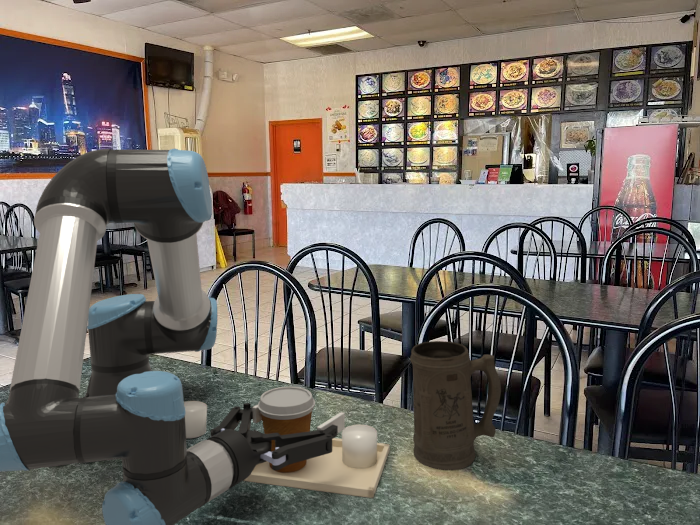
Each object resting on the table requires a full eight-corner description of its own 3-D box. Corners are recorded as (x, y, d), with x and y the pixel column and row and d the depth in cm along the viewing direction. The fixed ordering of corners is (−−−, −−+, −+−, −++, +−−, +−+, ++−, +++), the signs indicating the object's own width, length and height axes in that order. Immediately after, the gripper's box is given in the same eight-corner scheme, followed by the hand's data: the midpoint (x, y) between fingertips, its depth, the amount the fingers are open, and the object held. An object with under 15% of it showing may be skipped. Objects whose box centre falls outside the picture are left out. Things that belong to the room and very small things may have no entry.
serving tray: (273, 440, 102) (273, 431, 102) (389, 453, 97) (389, 444, 97) (239, 483, 88) (238, 472, 88) (373, 501, 83) (373, 490, 83)
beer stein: (419, 476, 90) (420, 359, 87) (402, 445, 100) (403, 340, 97) (507, 468, 92) (512, 354, 89) (482, 439, 103) (485, 336, 100)
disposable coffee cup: (307, 481, 88) (306, 410, 86) (251, 475, 89) (248, 405, 87) (321, 452, 97) (320, 387, 95) (270, 447, 99) (268, 383, 97)
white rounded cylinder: (346, 449, 98) (346, 422, 97) (380, 453, 96) (380, 426, 96) (338, 466, 92) (338, 438, 91) (373, 470, 91) (373, 442, 90)
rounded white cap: (169, 428, 107) (170, 404, 106) (199, 422, 110) (200, 399, 110) (180, 440, 102) (180, 414, 101) (210, 434, 105) (211, 409, 105)
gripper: (160, 464, 84) (256, 414, 101) (286, 519, 70) (372, 451, 87) (157, 418, 82) (255, 375, 100) (284, 464, 69) (372, 406, 86)
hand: (310, 410), depth 94 cm, fingers open, 13 cm apart
